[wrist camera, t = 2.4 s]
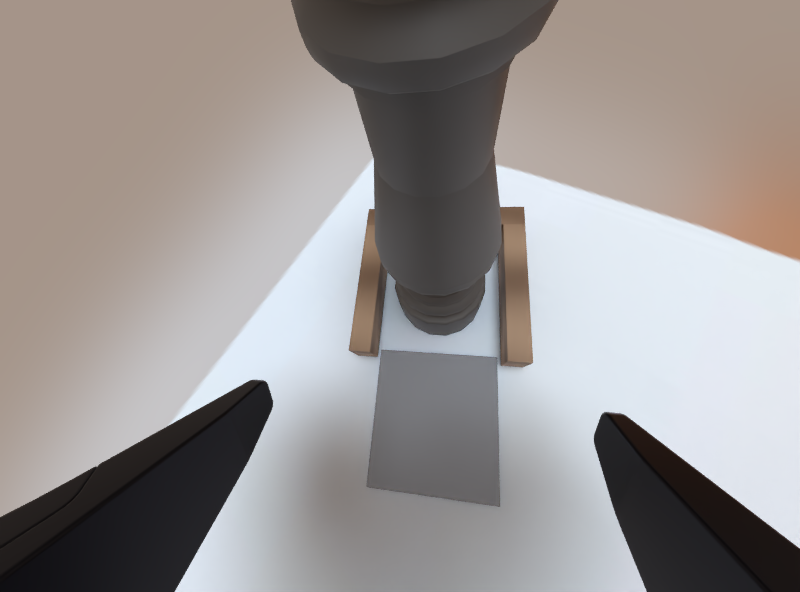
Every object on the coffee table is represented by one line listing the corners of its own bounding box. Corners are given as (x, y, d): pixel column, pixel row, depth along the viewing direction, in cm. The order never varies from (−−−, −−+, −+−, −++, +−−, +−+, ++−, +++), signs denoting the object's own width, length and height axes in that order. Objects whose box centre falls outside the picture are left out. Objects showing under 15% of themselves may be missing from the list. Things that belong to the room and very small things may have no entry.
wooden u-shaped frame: (523, 367, 20) (533, 362, 18) (358, 355, 22) (348, 350, 20) (516, 225, 24) (523, 207, 22) (375, 226, 26) (369, 209, 24)
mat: (499, 505, 18) (499, 506, 18) (367, 485, 19) (366, 487, 19) (496, 358, 21) (497, 357, 21) (382, 350, 22) (381, 349, 22)
